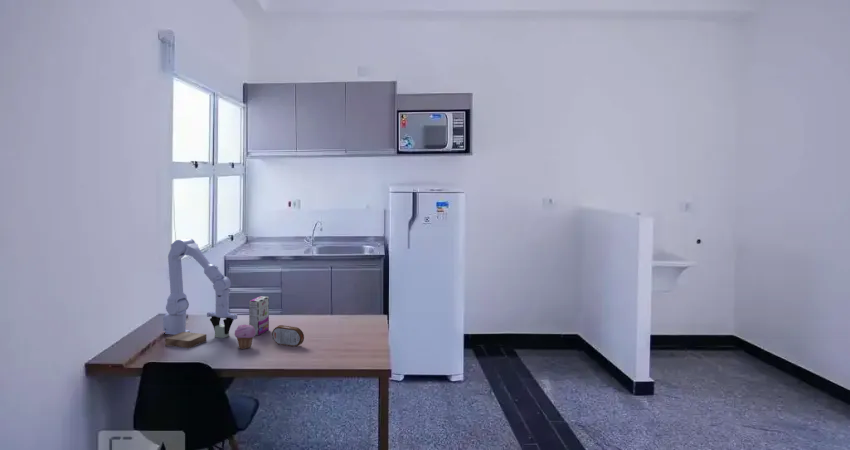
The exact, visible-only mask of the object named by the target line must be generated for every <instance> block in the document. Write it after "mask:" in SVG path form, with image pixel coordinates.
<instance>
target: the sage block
mask: <svg viewBox="0 0 850 450" xmlns="http://www.w3.org/2000/svg"><path fill="white" fill-rule="evenodd" d="M229 336H230V333H229V334H225V326H224V323H223V324H222V323H221V324H219V325H217V326H215V330H214V337H215V338H219V339H224V338H227V337H229Z"/></svg>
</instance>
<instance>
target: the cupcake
mask: <svg viewBox="0 0 850 450" xmlns="http://www.w3.org/2000/svg"><path fill="white" fill-rule="evenodd" d="M255 334H256V333H255V329H254V327H253V326H251V325H249V324H240V325H238V326H237V328H236V329H235V330H234V336H235V338H236V339H237V343H238V344H237V345H238V348H239V349H241V350H245V349H250V348H251V347H252V343H253V339H254V338H255Z"/></svg>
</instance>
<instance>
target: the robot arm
mask: <svg viewBox="0 0 850 450" xmlns="http://www.w3.org/2000/svg"><path fill="white" fill-rule="evenodd" d="M185 256H188V257H189V256H190V257H192V258H193V259H194V260H196V262H197V263H198V264H199V265H200V266H201V267H202V268H203V274H205V276H206V277H207V278H208V280H209V281H210V282H211V283H212V287H213V289H214V291H215V311H207V312H206V318H209V321H210V323H211V325H212V327H213V330H214V331H215V326H217V325H220V323H221V322H220V321H221V319H223V320H222V321H223V324H224V326H225V334H229V335H230V329H231V326H232V324H233V323H234V320H237V319H238V314H235V313H231V312H229V309H230V308H229V307H230V306H229V305H230V303H229V302H230V294H229V293H230V292H229V291H230V288H231V286H232V281H231V280H230V277H228V276H225V275H224V274H223V273H222V272H221V271H220V270H219V267H218V265H216V264H211V263H210V262H209V259H207V258H206V256H205V255H204V253H203V252H202V251H201V249H200V247H199V244H198V243H197V242H196V241H195V240H194V239H193V238H191V237H187V238H183V239H177V240H175V241H173V242H172V243H171V244H170V250H169V252H168V256H167V259H168V261H167V262H168V274H169V275H168V276H169V277H168V278H169V290H170V294H169V296H168V297H167V298H166V300H167V302H166V305H165V311H166V313H165V314H164V316H163V320H162V332H163V331H165V332H166V333H165V334H166V335H172V336H173V335H175V334H178V333H181V332H191V330H189V329H187V310H188V309H189V306H190V303H189V301H188V299H187V294H186V293H185V292H184V285H183V283H184V282H183V270H182V259H183V258H184V257H185ZM210 317H211V318H210ZM165 334H164V335H165Z"/></svg>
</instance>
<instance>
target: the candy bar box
mask: <svg viewBox="0 0 850 450" xmlns="http://www.w3.org/2000/svg"><path fill="white" fill-rule="evenodd" d="M269 301H270V297H269V296H264V295H262V296H261V295H260V296H258V297H255V298H253V299H251V300H249V301H248V305H249V306H248V307H249V309H248V315H249V317H248V318H249V319H248V320H249V322H248V323H249V324H248V325H251V326H253V327H254V329H255V333H256V334H255V336H261V335H262V334H264V333H266V332H268V331H269V329H270V321H269V320H270V317H269V316H270V304H269V303H270V302H269ZM255 336H254V337H255Z"/></svg>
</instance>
